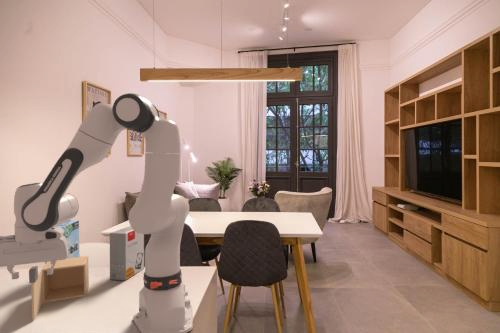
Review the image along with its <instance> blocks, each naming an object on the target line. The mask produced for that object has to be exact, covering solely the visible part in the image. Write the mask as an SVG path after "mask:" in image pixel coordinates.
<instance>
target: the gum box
mask: <svg viewBox="0 0 500 333" xmlns="http://www.w3.org/2000/svg"><path fill="white" fill-rule="evenodd" d="M79 223H80V220H79V219H78V220H75V219H70V220H68V221H66V222H63V223H61V224H58V225H56V226H53V227H57V228H62V229H63V230H64V234H63V236H64V237H65V238H66V240H67V243H68V250H69V255H68V257H67V258H74V257H80V224H79ZM46 263H47V262H44V265H45V264H46Z"/></svg>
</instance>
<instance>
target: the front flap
mask: <svg viewBox="0 0 500 333" xmlns="http://www.w3.org/2000/svg"><path fill="white" fill-rule="evenodd" d="M38 267H39V265H35V266H31V267H30V269H29V270H28V280H29V282H28V283H29V284H30V287H31V289H30V290H31V291H30V292H31V293H30V294H31V317H32V318H31V320H36V317H37V315H38V313H39V311H40V309H41V308H42V307H41V306H42V305H43V304H44V303H43V288H42V269H39V268H38ZM38 269H39V270H38Z"/></svg>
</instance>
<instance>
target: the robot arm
mask: <svg viewBox="0 0 500 333" xmlns="http://www.w3.org/2000/svg"><path fill="white" fill-rule="evenodd" d="M125 130H127V131H132V132H137V133H140V134H142V135H143V138H144V141H145V142H144V143H145V144H144V145H145V148H144V149H145V151H144V152H145V154H144V156H145V157H144V159H145V160H144V175H143V181H142V185H141V189H140V191H139V195H138V197H137V199H136V201H135V203H134V205H133V206H132V207H131V209H130V210H129V213H128V223H129V226H131V227H132V229H133V230H134V231H135V232H137V233H139V234H144V235H150V238H149V240H148V243H147V244H146V246H145V247H144V272H143V277H142V278H143V287H142V288H141V289H140V291H139V292H138V312H137V313H135V314H133V315H132V320H133V321H134V323H135V325H136V327H137V329H138V330H139V332H140V333H188V332H191V331H193V328H194V327H193V326H194V325H193V323H194V322H193V305H192V304H191V299H186V297H188V296H189V295H188V294H189V292H188V291H186V284H185V283H184V282H183V280H182V277H183V276H182V274H183V273H182V269H181V262H180V260H181V256H180V255H181V250H180V249H181V241H182V236H183V232H184V227H185V222H186V219H187V218H188V215H189V214H190V203H189V201H188V200H187V198H186V197H184V196H183V195H182V194H181V195H180V194H177V193H174V190H175V187H176V185H177V183H178V181H179V179H180V176H181V137H180V130H179V127H178V124H176V122H174V121H173V120H172V119H171V120H170V119H168V118H161V117H160V113H159V110H158V108H157V106H155V105H154V104H153V103H152V102H151V101H150V100H149V99H147V98H146V97H143V96H141V95H139V94H136V93H133V92H131V93H124V94H121V95H119V96H118V97H117V98H116V99H115V100H114V102H113V104H110V103H105V102H100V103H96V104H95V105H94V106H93V107H92V108H91V109H90V110H89V112H88V113H87V114H86V115H85V117H84V118H83V120H82V122H81V124H80V125H79V127H78V129H77V131H76V133H75V134H74V137H73V138H72V140H71V142H70V143H69V144H68V146H67V148H66V149H65V150H64V151H63V153H62V154H61V155H60V157H59V158H58V159H57V161H56V162H55V164H54V166H53V167H52V169H51V170H50V172H49V173H48V175H47V176H46V177H45V179H44V181H43V182H33V183H28V184H22V185H20V186H18V187H17V188H16V190H15V191H14V196H13V197H14V198H13V214H14V216H15V222H14V225H13V226H14V234H13V235H1V236H0V268H3V267H6V269H7V271H8V273H9V274H10V275H11V280H17V279H19V278H20V272H19V271H16V270H15V269H14V267H15V266H21V265H29V264H37V263H38V264H39V263H45V262H48V261H51V264H53V265H52V266H51V268H48V269H47V275H52V274H53V267H54V266H55V264H56V262H57V260H65V259H66V258H67V257H68V255H69V250H68V243H67V240H66V238H65V237H64V236H63V234H64V230H63V229H62V228H57V227H54V226H56V225H59V224H62V223H64V222H67V221H69V220H73V218H75V217H76V216H77V214H78V212H79V208H80V207H79V206H80V205H79V202H78V200H77V198H76V197H75V196H74V195H73V194H71V193H67V191H68V189H69V187H70V186H71V184H72V183H73V181H74V180H75V179H76V177H78V175H80V174H81V173H82V172H84V171H85V170H87V169H89V168H91V167H92V166H95V165H98V164H99V163H102V162H103V160H104V159H105V158H106V157H107V155H108V154H109V153H110V151H111V150H112V148H113V146H114V144H115V141H116V140H117V137H118V136H119V135H120V134H121V132H122V131H125Z"/></svg>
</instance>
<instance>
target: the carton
mask: <svg viewBox="0 0 500 333" xmlns="http://www.w3.org/2000/svg"><path fill="white" fill-rule="evenodd" d="M52 265H53V264H51V261H48V262H47V263H46V264H45V263H44V266H43V267H42V269H41V270H42V288H43V303H42V304H44V303H50V302H57V301H63V300H69V299H77V298H83V297H87V295H88V294H87V293H88V289H89V287H90V280H89V279H90V277H89V273H90V272H89V255H84V256H79V257H74V258H66V259H65V260H57V262H56V264H55V266H54V267H53V274H52V275H47V269H48V268H51V266H52Z"/></svg>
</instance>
